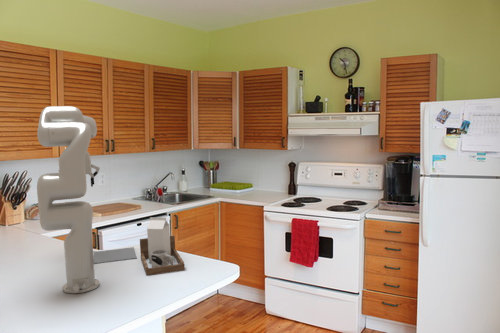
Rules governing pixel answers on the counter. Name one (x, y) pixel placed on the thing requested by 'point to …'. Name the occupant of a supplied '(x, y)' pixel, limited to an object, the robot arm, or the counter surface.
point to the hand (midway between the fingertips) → (80, 187)
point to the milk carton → (158, 236)
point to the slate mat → (114, 255)
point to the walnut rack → (163, 269)
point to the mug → (160, 258)
